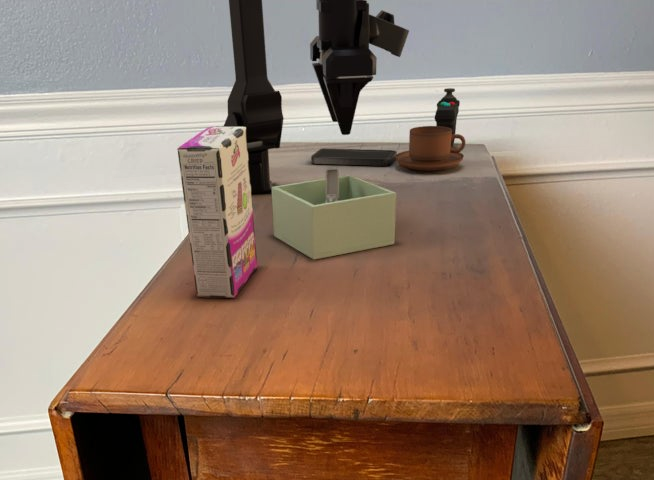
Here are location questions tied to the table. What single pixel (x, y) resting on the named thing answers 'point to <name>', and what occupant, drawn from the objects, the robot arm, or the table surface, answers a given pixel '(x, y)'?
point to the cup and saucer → (431, 149)
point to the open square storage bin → (334, 217)
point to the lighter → (332, 184)
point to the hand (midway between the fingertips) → (340, 127)
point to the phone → (354, 157)
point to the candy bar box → (219, 210)
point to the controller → (447, 111)
